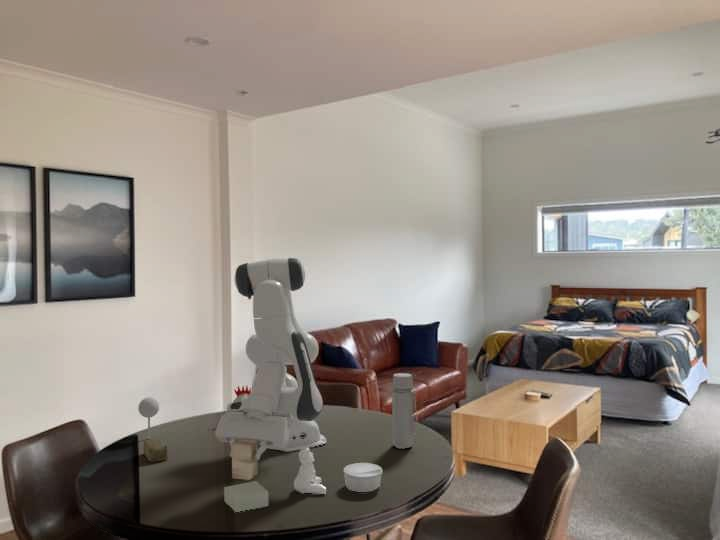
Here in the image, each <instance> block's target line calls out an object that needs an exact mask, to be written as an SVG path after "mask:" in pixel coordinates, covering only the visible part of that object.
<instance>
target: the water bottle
mask: <svg viewBox="0 0 720 540" xmlns="http://www.w3.org/2000/svg"><path fill="white" fill-rule="evenodd" d="M391 389H392V392H391V393H392V394H391V395H392V396H391V401H392V403H391V408H392V409H391V412H392V413H391V414H392V415H391V417H392V418H391V420H392V421H391V426H392V427H391V430H392V431H391V432H392V434H391V435H392V437H391V440H392V443H393V444H394V445H401V446H403V445H410V444H412V445H413V435H418V432H419V423H418V415H417V414H418V411H417V404H416V397H415V396H416V390H417V389H415V388H414V384H413V376H412V374H410V373H406V372H404V373H403V372H398V373H394V374H393V376H392V385H391ZM415 419H416V433H415V431H414V430H415V429H414V425H415V423H414V422H415ZM392 443H391V444H392Z"/></svg>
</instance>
